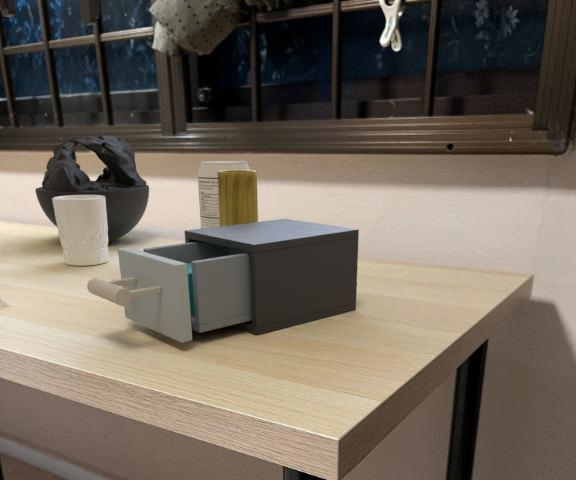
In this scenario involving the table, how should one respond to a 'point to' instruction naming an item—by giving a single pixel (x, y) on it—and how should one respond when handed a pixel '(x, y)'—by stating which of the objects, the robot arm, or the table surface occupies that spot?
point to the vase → (237, 197)
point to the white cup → (82, 228)
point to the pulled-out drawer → (181, 287)
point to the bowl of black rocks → (98, 181)
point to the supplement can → (213, 189)
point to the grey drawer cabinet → (292, 269)
